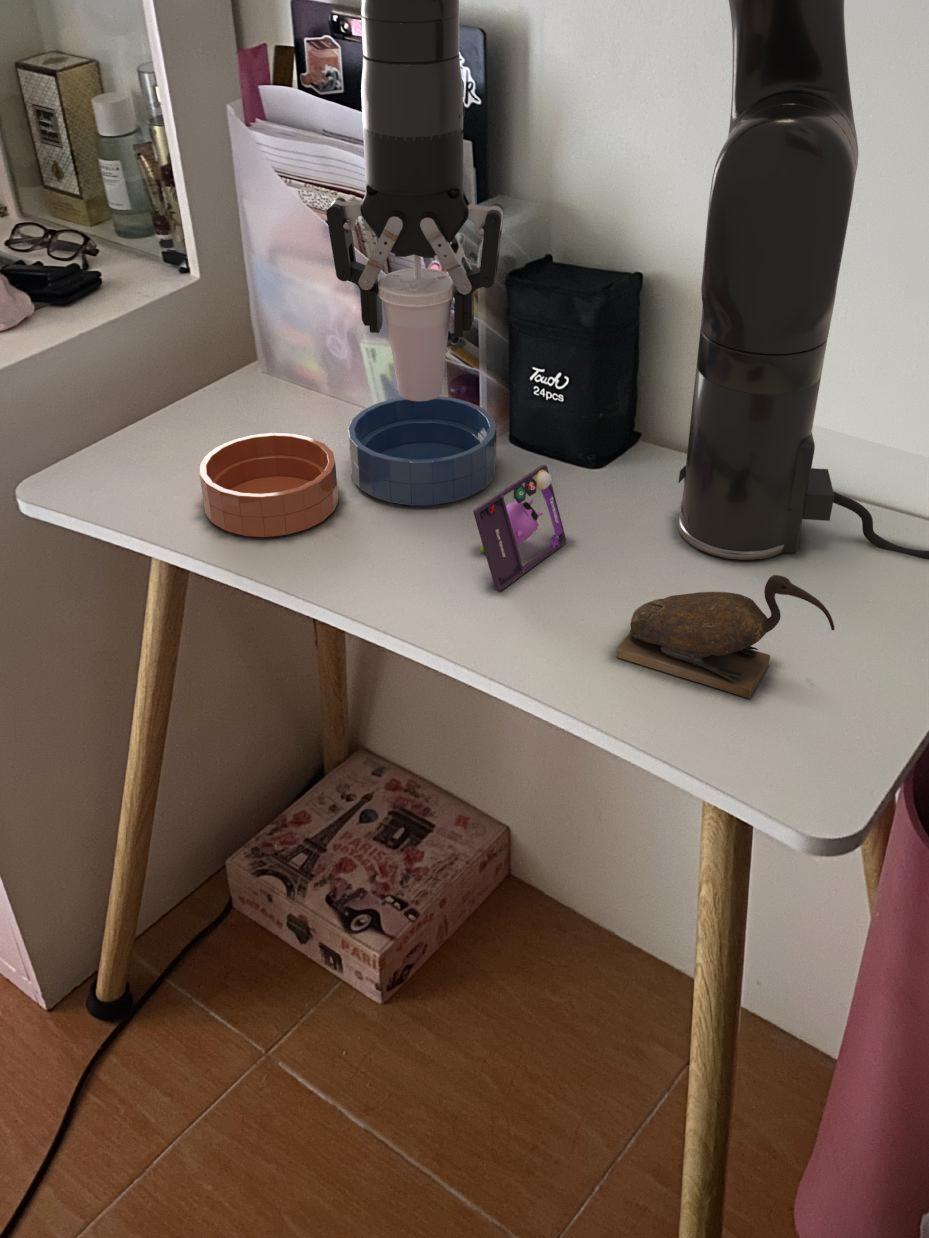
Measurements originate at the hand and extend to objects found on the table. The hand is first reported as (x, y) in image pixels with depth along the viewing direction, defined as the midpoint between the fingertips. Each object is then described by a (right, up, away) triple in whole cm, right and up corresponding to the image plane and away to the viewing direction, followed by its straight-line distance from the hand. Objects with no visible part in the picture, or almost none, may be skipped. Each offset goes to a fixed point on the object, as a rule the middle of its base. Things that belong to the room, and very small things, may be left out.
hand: (418, 331), depth 101 cm
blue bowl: (0, -11, +8) cm, 13 cm away
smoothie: (0, -5, +3) cm, 6 cm away
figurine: (+22, -28, -16) cm, 38 cm away
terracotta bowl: (-13, -14, +3) cm, 19 cm away
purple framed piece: (+7, -19, -4) cm, 21 cm away
